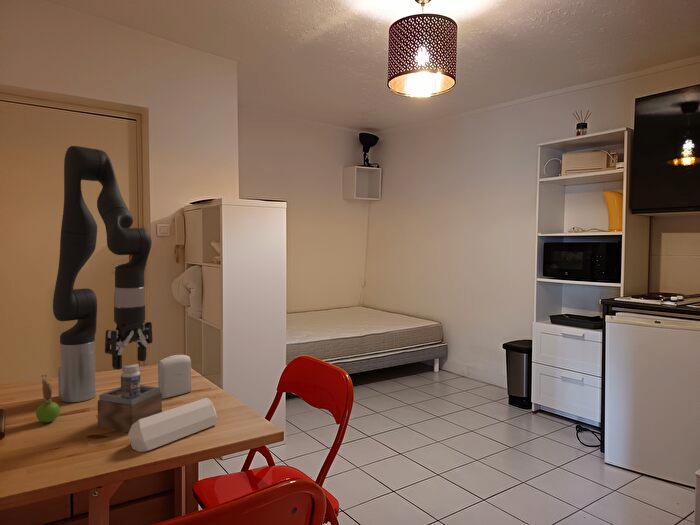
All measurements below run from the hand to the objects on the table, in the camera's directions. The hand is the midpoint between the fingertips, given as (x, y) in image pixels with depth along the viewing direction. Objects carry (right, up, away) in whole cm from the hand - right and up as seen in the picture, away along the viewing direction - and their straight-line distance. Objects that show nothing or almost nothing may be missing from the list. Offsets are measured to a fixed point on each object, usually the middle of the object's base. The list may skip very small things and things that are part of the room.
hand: (129, 364), depth 129 cm
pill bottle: (0, -9, +1) cm, 9 cm away
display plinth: (0, -16, +1) cm, 16 cm away
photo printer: (+3, -15, +24) cm, 28 cm away
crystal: (+14, -17, -7) cm, 23 cm away
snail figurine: (-22, -16, +1) cm, 27 cm away
